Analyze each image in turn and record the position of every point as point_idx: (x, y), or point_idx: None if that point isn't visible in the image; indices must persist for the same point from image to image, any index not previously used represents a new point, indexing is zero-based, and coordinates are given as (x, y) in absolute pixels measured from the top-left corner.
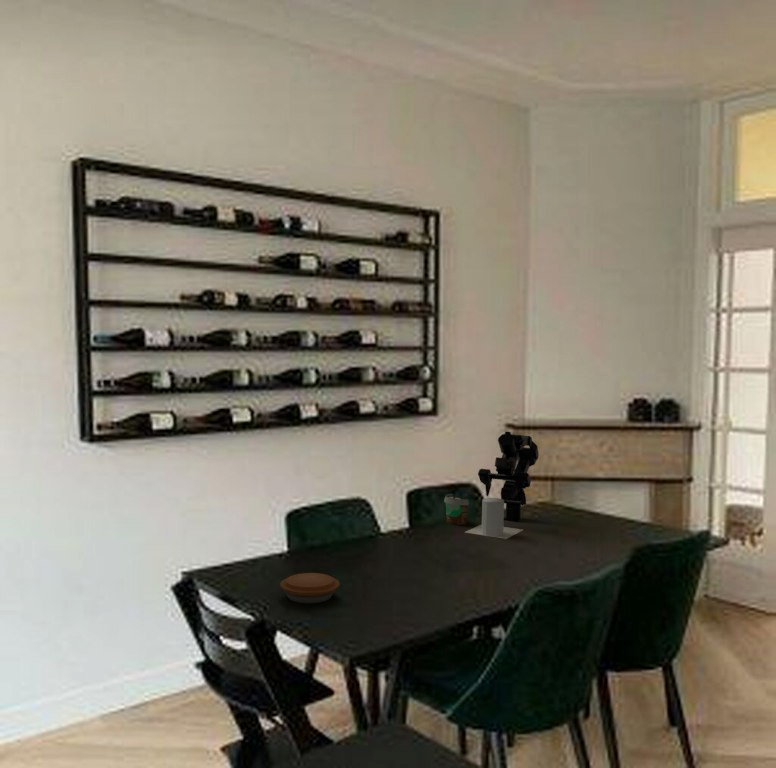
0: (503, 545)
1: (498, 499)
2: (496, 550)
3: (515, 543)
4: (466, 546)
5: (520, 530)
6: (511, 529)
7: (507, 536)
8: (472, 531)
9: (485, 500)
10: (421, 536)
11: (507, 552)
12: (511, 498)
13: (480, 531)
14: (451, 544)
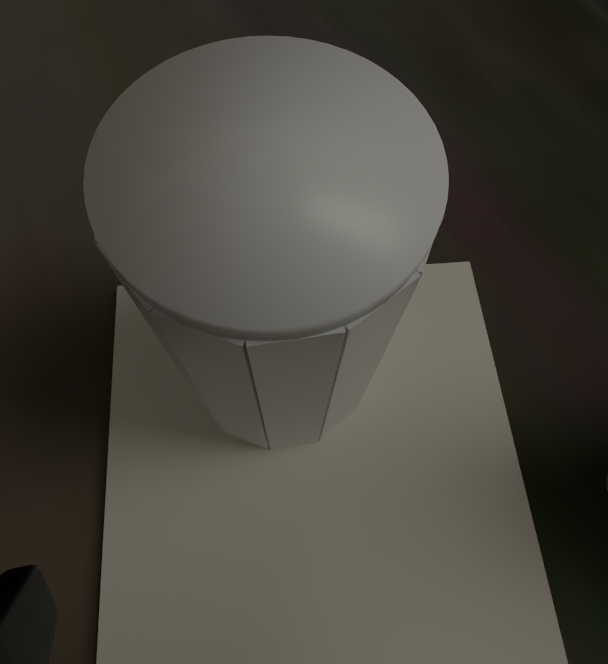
0: (84, 156)
1: (211, 245)
2: (84, 54)
3: (26, 240)
4: (266, 33)
5: (110, 656)
6: (207, 631)
7: (136, 351)
8: (440, 319)
9: (344, 68)
10: (594, 57)
11: (12, 54)
12: (46, 597)
13: (393, 358)
14: (355, 22)
